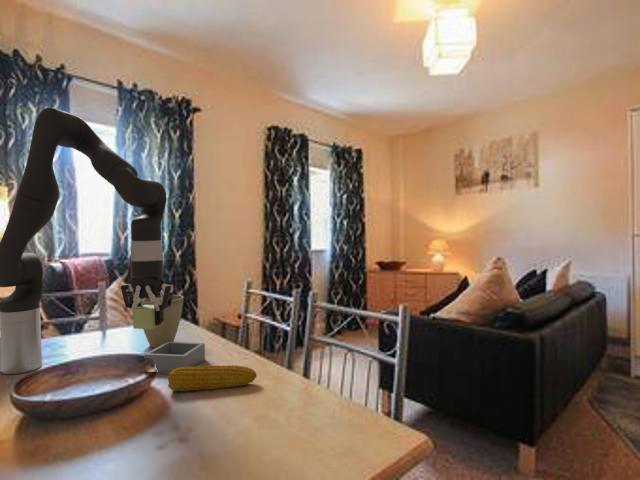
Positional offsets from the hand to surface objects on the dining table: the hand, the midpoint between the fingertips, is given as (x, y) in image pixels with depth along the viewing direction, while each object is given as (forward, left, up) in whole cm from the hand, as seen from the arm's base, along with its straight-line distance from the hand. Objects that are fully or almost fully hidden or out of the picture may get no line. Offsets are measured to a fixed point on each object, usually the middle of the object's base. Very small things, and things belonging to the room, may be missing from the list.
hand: (148, 324), depth 101 cm
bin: (0, +13, -15) cm, 20 cm away
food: (+17, 0, -16) cm, 23 cm away
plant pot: (-16, +32, -15) cm, 39 cm away
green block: (0, 0, 0) cm, 0 cm away
